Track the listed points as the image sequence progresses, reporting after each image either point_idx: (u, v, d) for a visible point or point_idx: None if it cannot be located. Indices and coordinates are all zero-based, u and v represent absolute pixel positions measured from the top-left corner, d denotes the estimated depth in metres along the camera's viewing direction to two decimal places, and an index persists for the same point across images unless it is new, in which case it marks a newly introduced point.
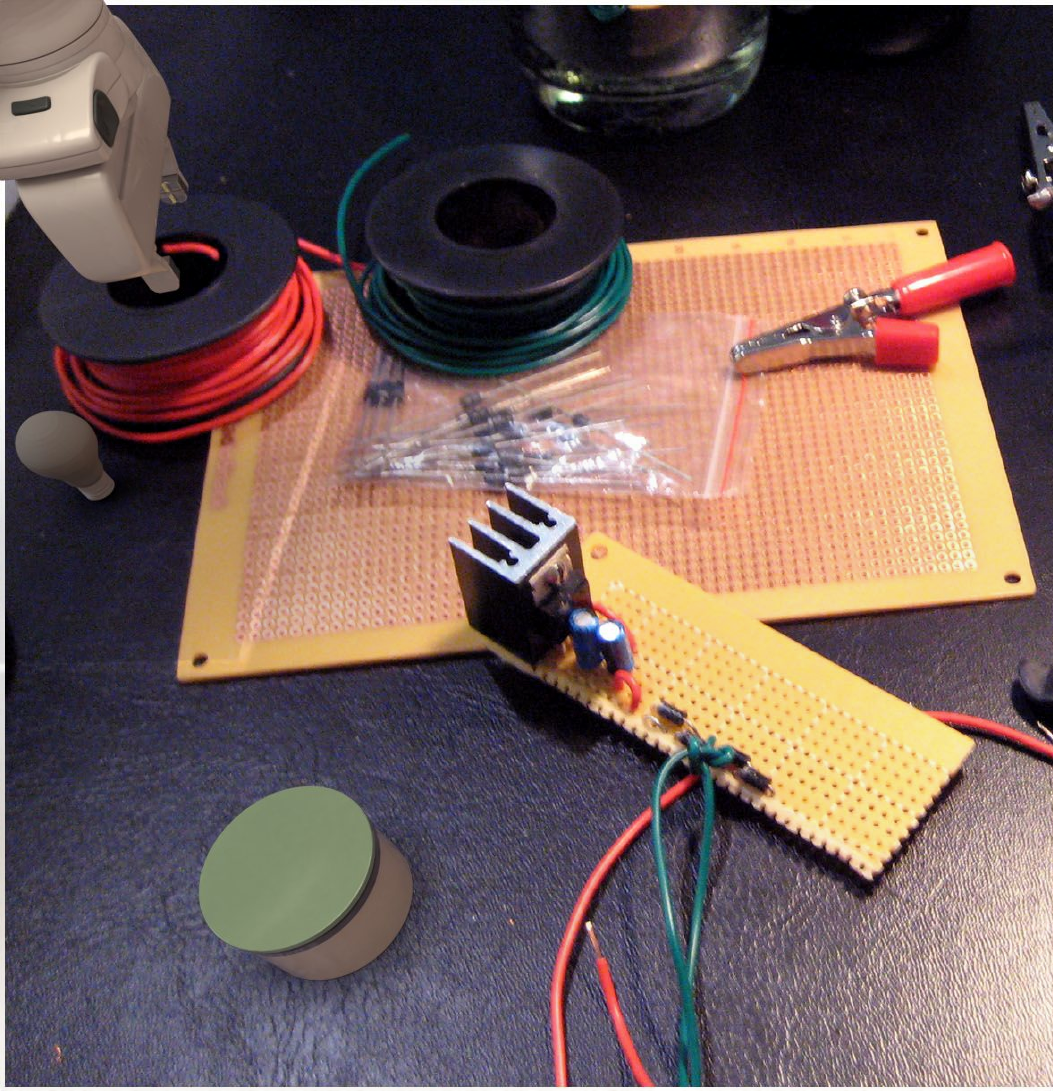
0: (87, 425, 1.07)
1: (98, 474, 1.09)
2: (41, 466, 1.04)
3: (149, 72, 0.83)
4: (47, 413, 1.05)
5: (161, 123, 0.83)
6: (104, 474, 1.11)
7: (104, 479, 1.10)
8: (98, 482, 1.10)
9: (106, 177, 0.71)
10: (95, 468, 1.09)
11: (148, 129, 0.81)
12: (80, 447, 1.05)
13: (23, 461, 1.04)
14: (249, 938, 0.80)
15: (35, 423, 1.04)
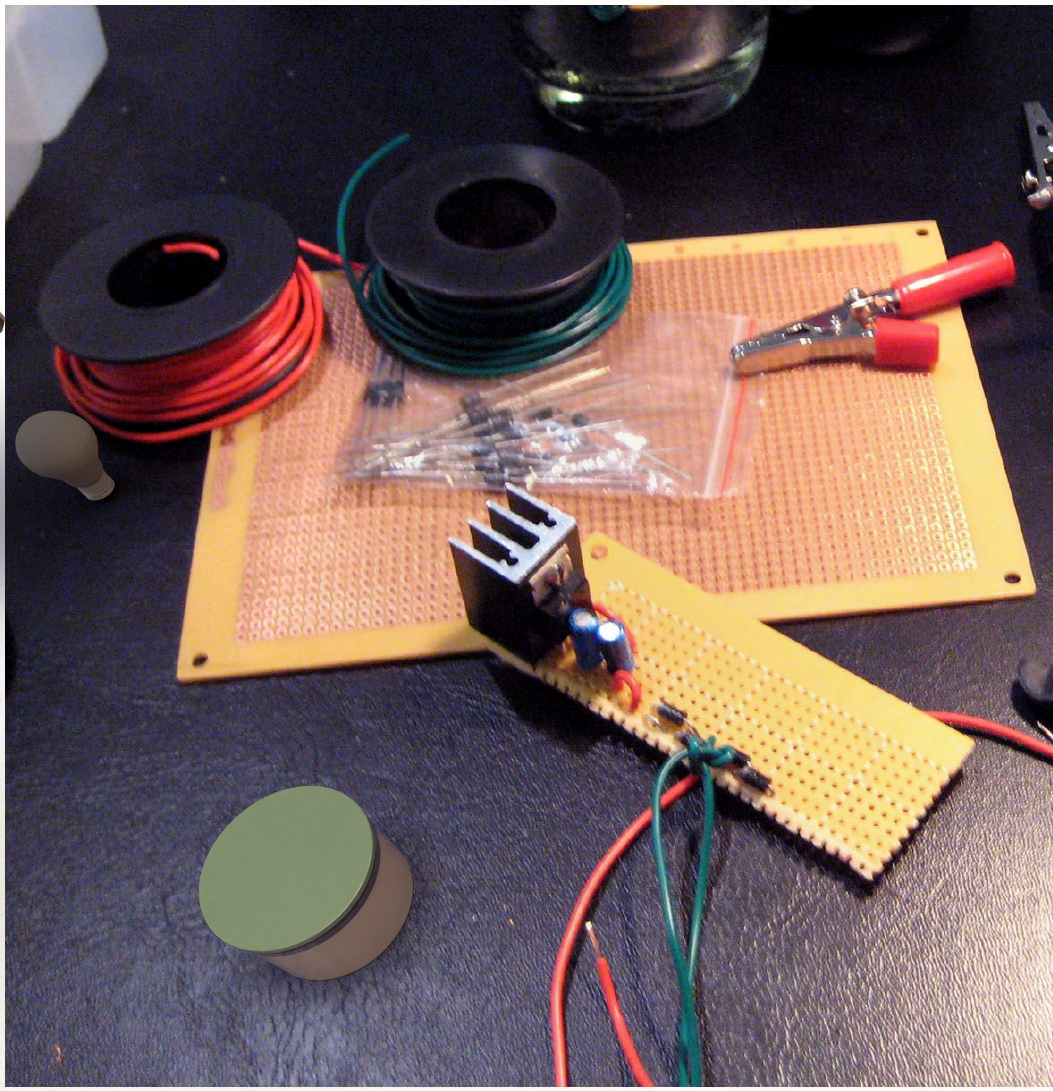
0: (87, 425, 1.07)
1: (98, 474, 1.09)
2: (41, 466, 1.04)
3: None
4: (47, 413, 1.05)
5: None
6: (104, 474, 1.11)
7: (104, 479, 1.10)
8: (98, 482, 1.10)
9: None
10: (95, 468, 1.09)
11: None
12: (80, 447, 1.05)
13: (23, 461, 1.04)
14: (249, 938, 0.80)
15: (35, 423, 1.04)
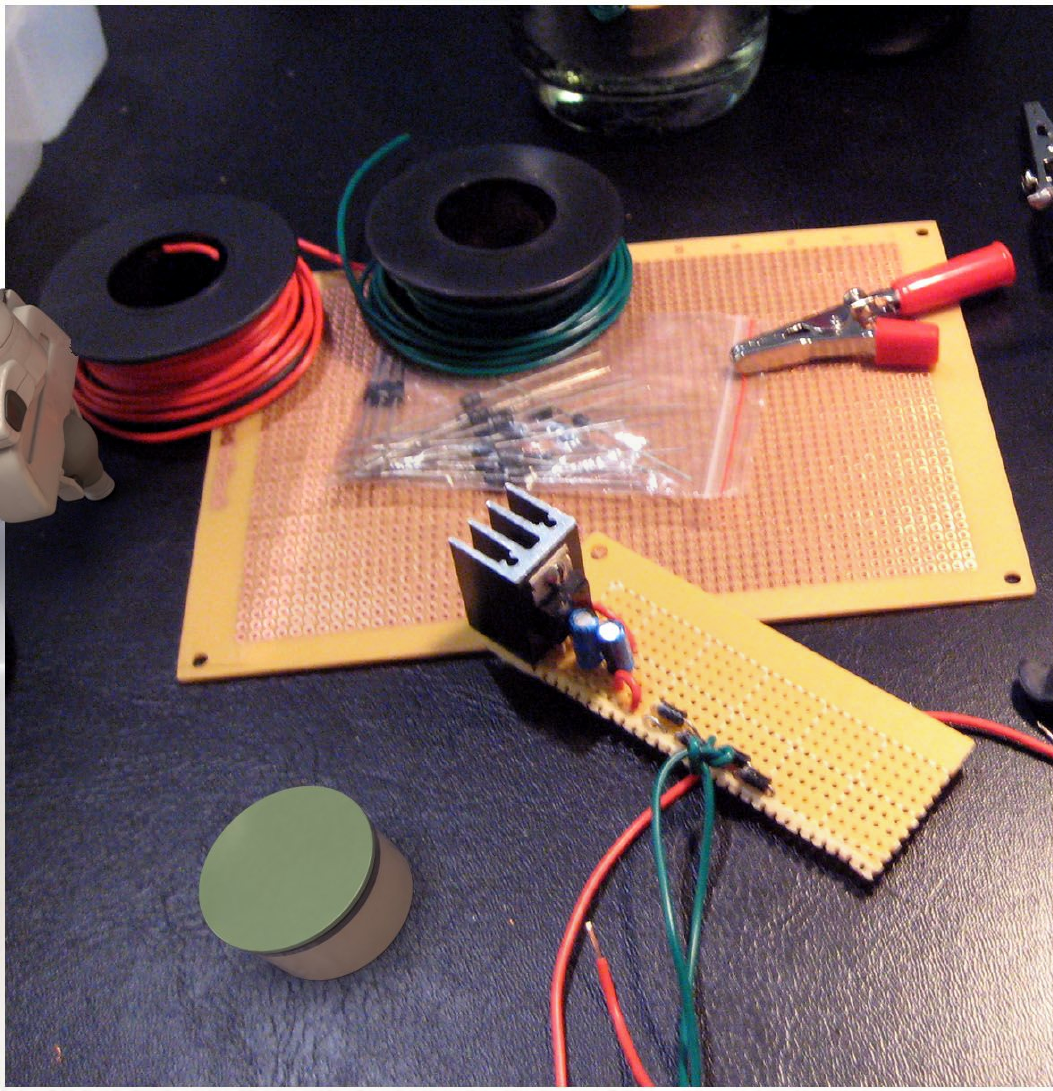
0: (87, 425, 1.07)
1: (98, 474, 1.09)
2: None
3: (59, 341, 1.07)
4: None
5: (68, 381, 1.07)
6: (104, 474, 1.11)
7: (104, 479, 1.11)
8: (98, 482, 1.10)
9: (16, 454, 0.95)
10: (95, 468, 1.09)
11: (56, 392, 1.05)
12: (80, 447, 1.05)
13: None
14: (249, 938, 0.80)
15: None
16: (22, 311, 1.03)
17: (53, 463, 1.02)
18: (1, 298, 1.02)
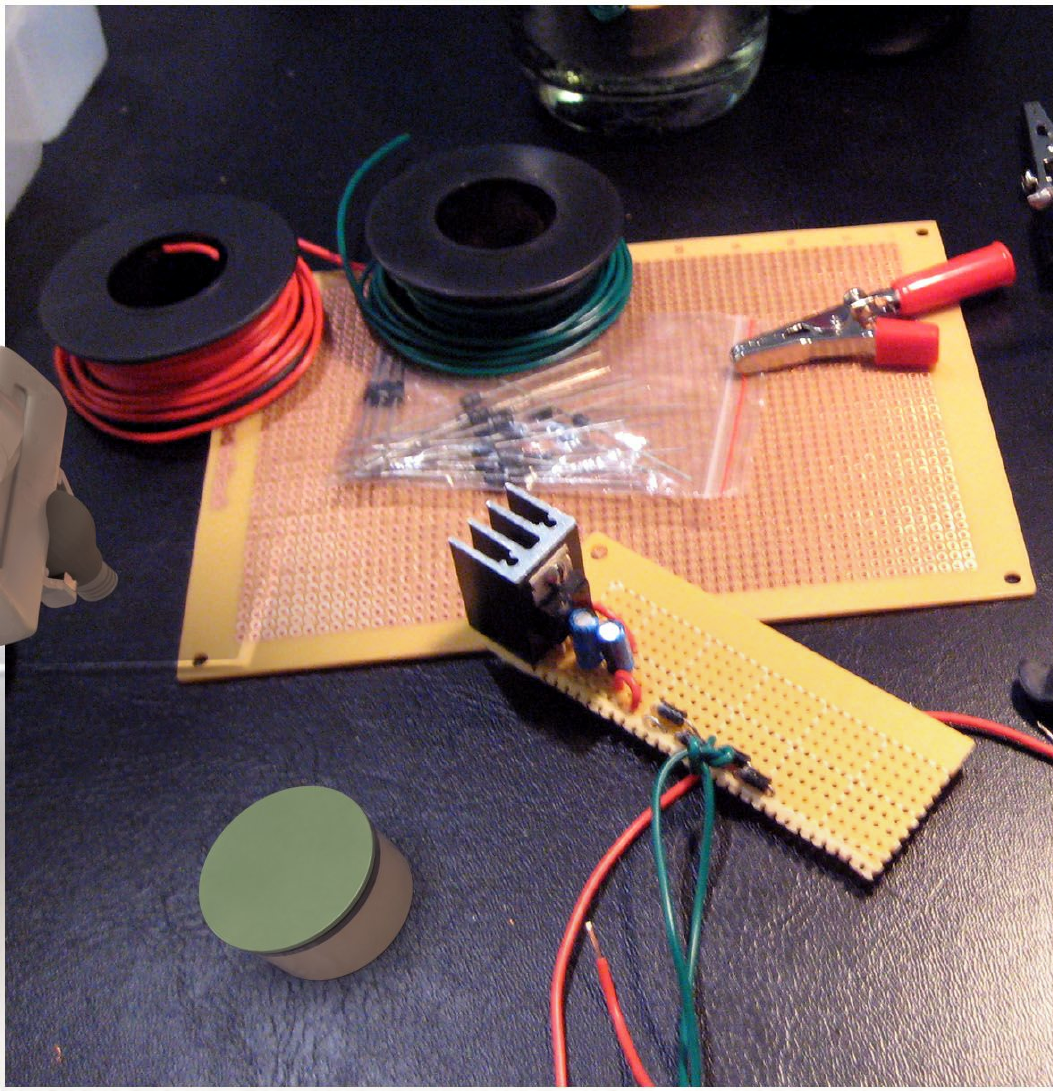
0: (81, 505, 0.79)
1: (96, 568, 0.82)
2: None
3: (41, 393, 0.80)
4: None
5: (54, 447, 0.80)
6: (104, 567, 0.83)
7: (104, 573, 0.83)
8: (96, 579, 0.82)
9: None
10: (92, 561, 0.81)
11: (37, 463, 0.77)
12: (72, 536, 0.78)
13: None
14: (249, 938, 0.80)
15: None
16: None
17: (33, 564, 0.74)
18: None
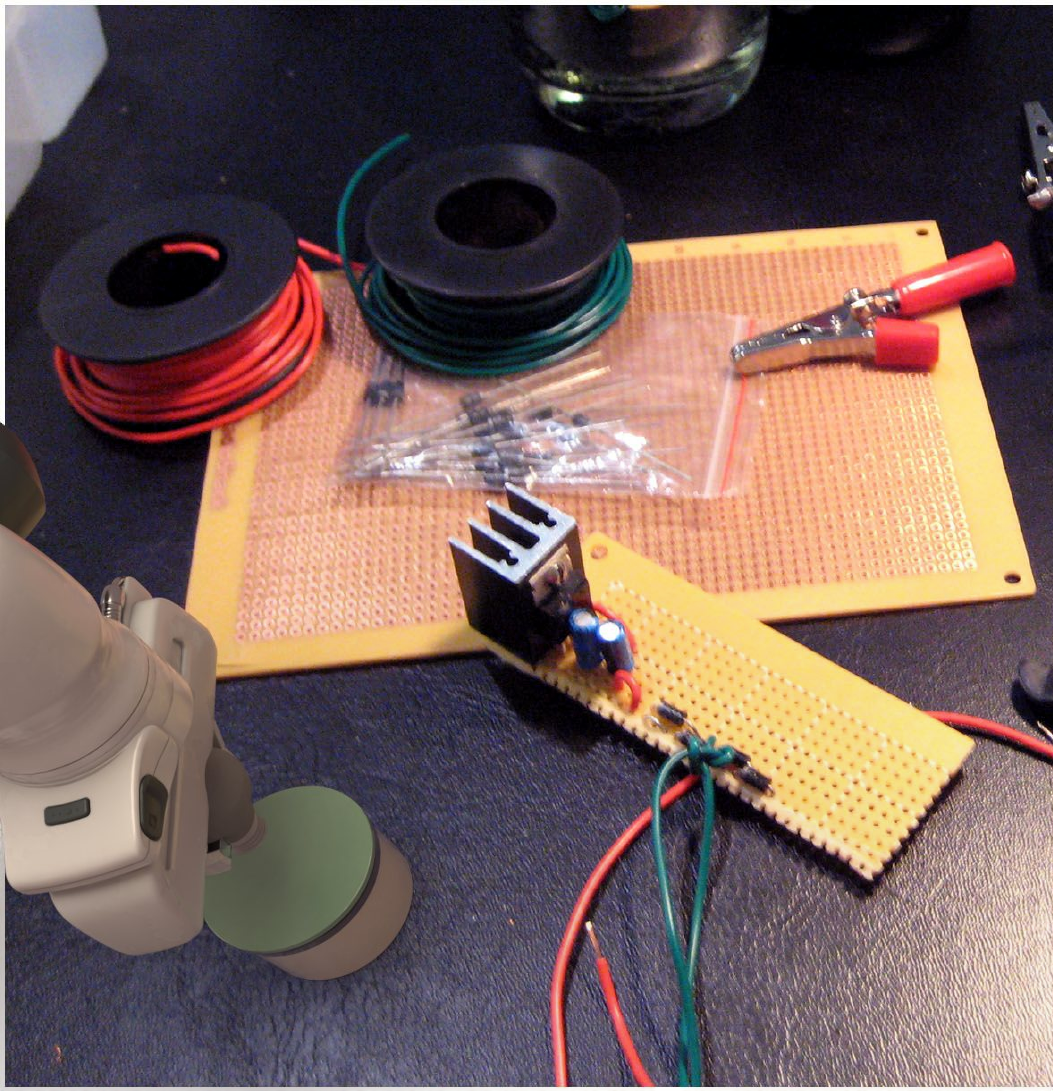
0: (238, 766, 0.73)
1: (249, 825, 0.75)
2: None
3: (195, 641, 0.73)
4: None
5: (208, 700, 0.73)
6: (255, 819, 0.77)
7: (255, 826, 0.77)
8: (247, 834, 0.76)
9: (154, 874, 0.61)
10: (246, 819, 0.75)
11: (196, 726, 0.71)
12: (232, 804, 0.71)
13: None
14: (249, 938, 0.80)
15: None
16: (148, 613, 0.69)
17: (197, 849, 0.68)
18: (118, 598, 0.68)
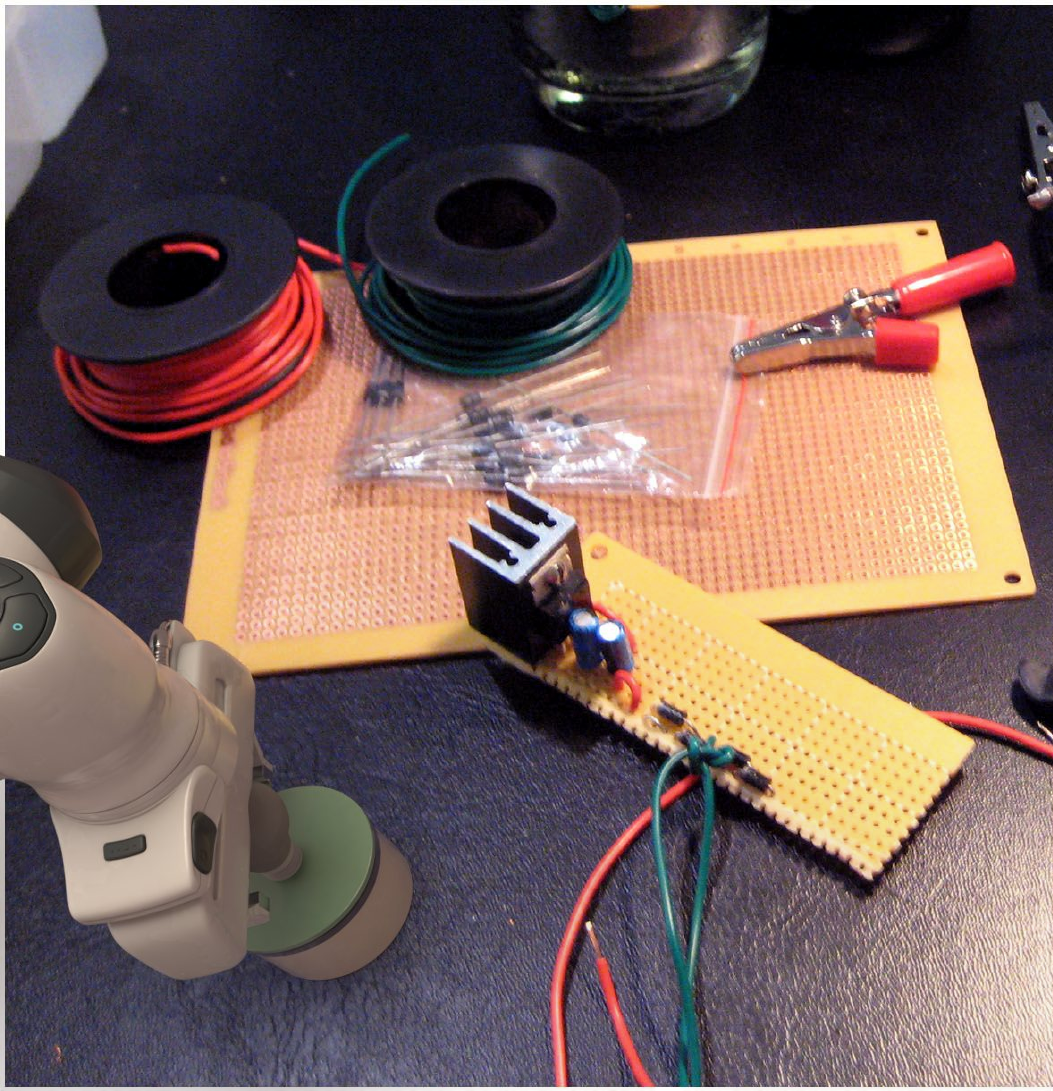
0: (277, 798, 0.77)
1: (286, 854, 0.80)
2: None
3: (235, 679, 0.78)
4: None
5: (248, 735, 0.77)
6: (291, 847, 0.81)
7: (291, 855, 0.81)
8: (284, 862, 0.80)
9: (204, 905, 0.66)
10: (284, 849, 0.79)
11: (237, 761, 0.75)
12: (271, 836, 0.76)
13: None
14: (249, 938, 0.80)
15: None
16: (193, 655, 0.74)
17: (241, 879, 0.72)
18: (166, 642, 0.72)
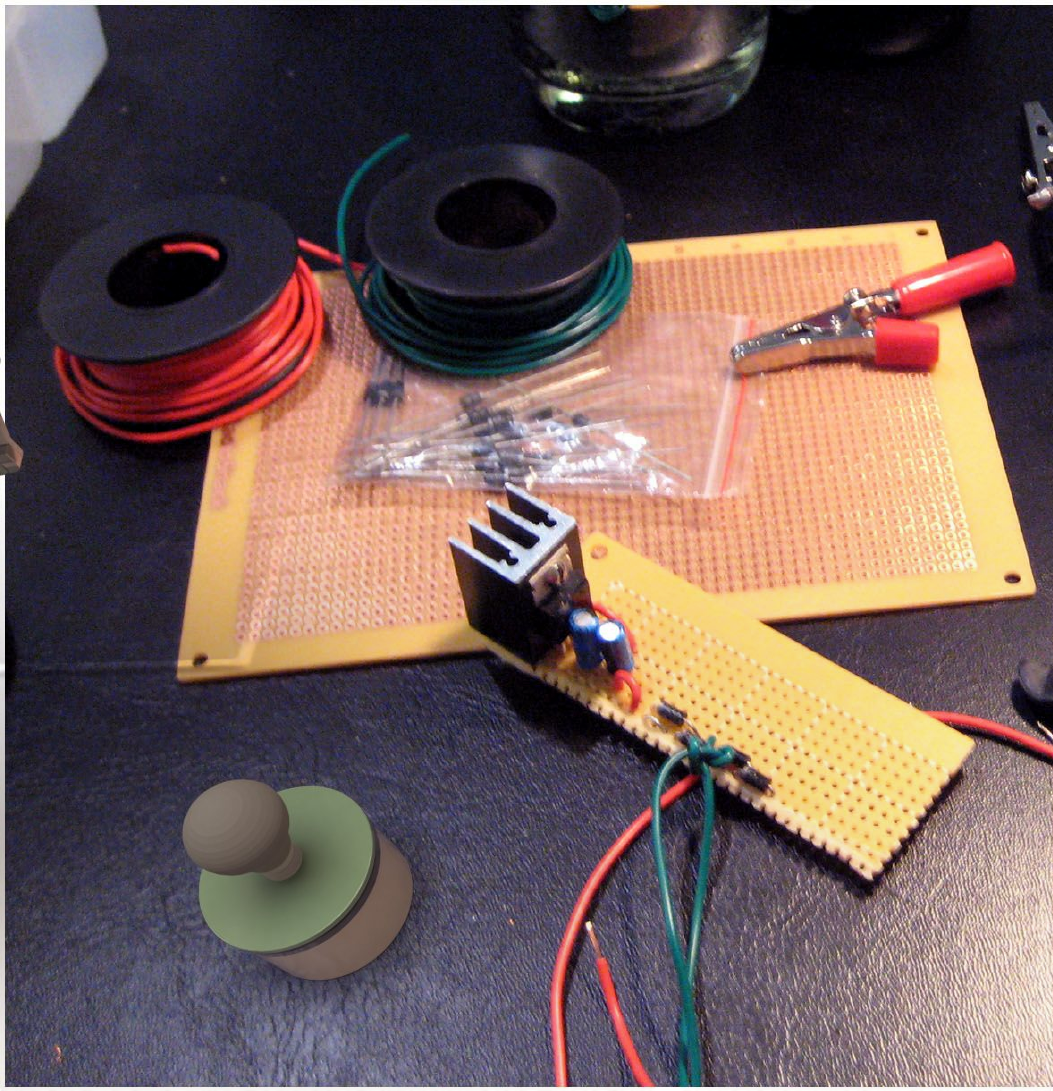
0: (277, 798, 0.77)
1: (286, 853, 0.80)
2: (219, 869, 0.75)
3: None
4: (226, 791, 0.75)
5: None
6: (291, 847, 0.81)
7: (292, 855, 0.81)
8: (284, 862, 0.80)
9: None
10: (284, 848, 0.79)
11: None
12: (272, 835, 0.76)
13: (194, 860, 0.75)
14: (249, 938, 0.80)
15: (211, 810, 0.74)
16: None
17: None
18: None
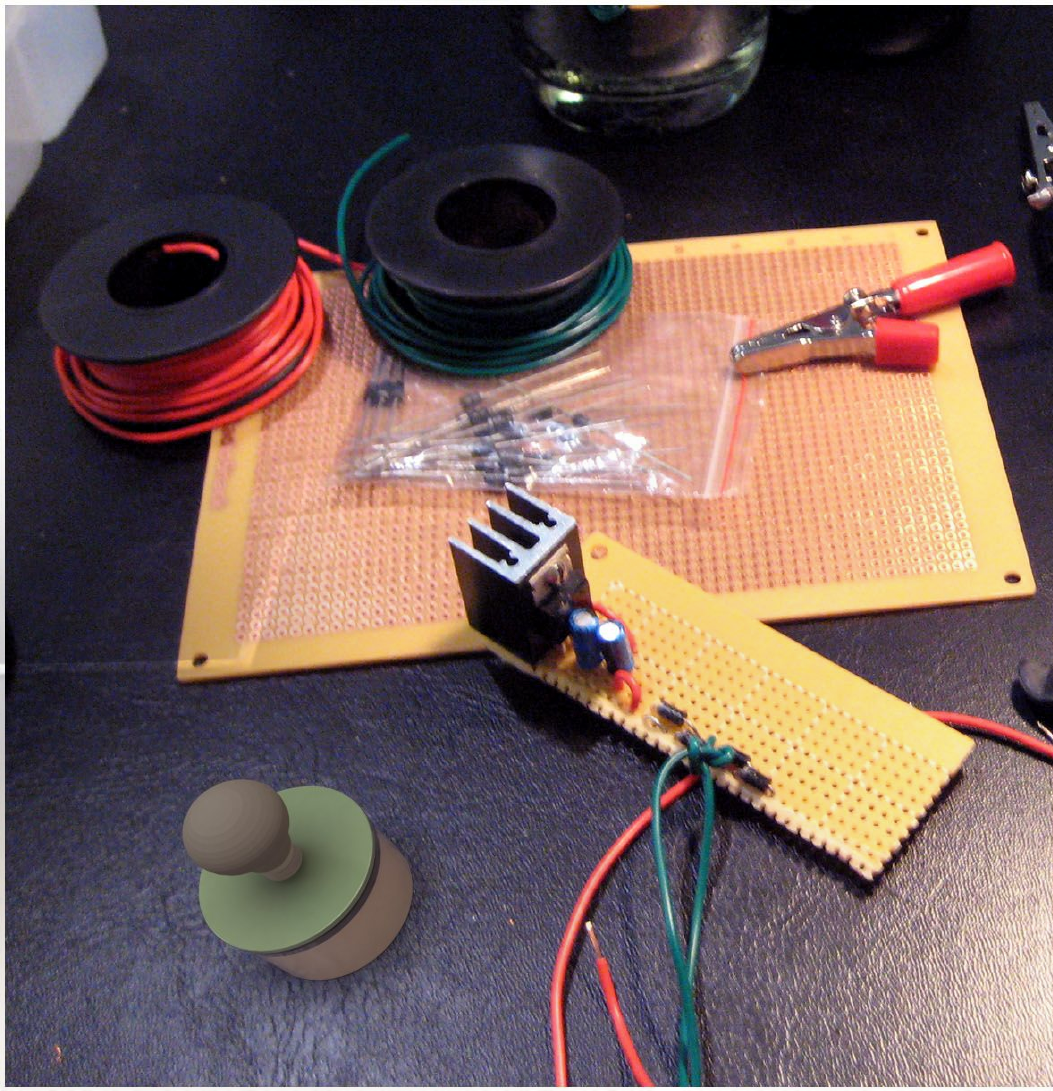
0: (277, 798, 0.77)
1: (286, 853, 0.80)
2: (219, 869, 0.75)
3: None
4: (226, 791, 0.75)
5: None
6: (291, 847, 0.81)
7: (292, 855, 0.81)
8: (284, 862, 0.80)
9: None
10: (284, 848, 0.79)
11: None
12: (272, 835, 0.76)
13: (194, 860, 0.75)
14: (249, 938, 0.80)
15: (211, 810, 0.74)
16: None
17: None
18: None
